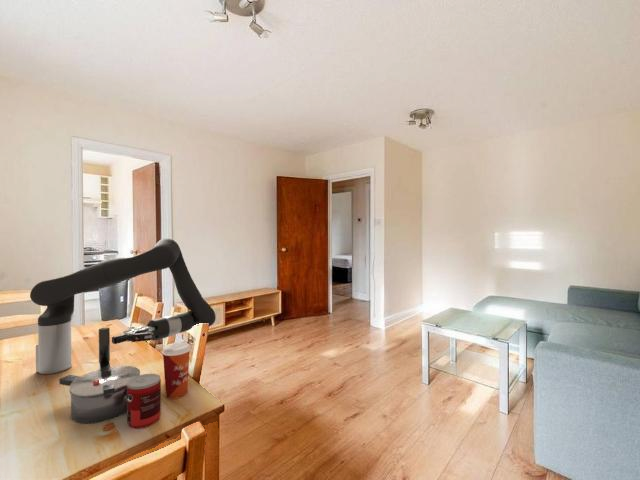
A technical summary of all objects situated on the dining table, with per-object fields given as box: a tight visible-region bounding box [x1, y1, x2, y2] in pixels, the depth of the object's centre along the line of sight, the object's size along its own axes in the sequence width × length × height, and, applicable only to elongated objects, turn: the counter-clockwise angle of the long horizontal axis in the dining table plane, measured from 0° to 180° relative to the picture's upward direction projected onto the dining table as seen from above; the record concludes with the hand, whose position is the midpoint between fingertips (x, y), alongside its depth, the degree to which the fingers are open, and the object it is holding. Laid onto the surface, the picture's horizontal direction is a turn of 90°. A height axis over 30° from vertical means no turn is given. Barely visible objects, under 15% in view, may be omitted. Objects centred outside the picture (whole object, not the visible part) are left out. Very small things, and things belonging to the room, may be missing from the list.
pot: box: [58, 374, 127, 425], centre depth 89 cm, size 28×16×7 cm, turn 76°
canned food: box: [126, 373, 162, 429], centre depth 82 cm, size 8×8×11 cm
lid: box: [68, 327, 141, 397], centre depth 89 cm, size 23×17×13 cm
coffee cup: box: [161, 341, 192, 399], centre depth 96 cm, size 8×8×15 cm
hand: (112, 340), depth 99 cm, fingers closed
